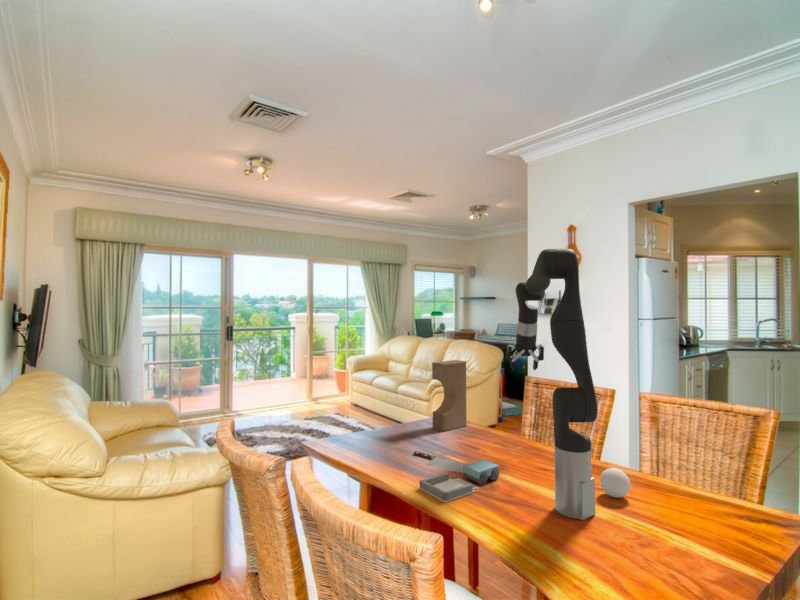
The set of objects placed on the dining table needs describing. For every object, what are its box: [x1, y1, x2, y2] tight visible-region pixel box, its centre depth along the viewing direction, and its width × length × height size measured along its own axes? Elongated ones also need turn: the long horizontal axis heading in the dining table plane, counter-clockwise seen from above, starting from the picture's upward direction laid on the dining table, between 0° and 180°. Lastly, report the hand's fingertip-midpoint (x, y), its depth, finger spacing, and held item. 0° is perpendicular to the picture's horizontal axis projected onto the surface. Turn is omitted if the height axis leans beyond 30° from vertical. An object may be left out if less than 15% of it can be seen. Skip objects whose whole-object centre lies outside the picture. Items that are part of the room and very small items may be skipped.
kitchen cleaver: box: [413, 450, 467, 474], centre depth 152 cm, size 24×1×10 cm
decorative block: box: [431, 359, 467, 433], centre depth 197 cm, size 15×8×30 cm, turn 128°
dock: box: [419, 472, 480, 503], centre depth 130 cm, size 12×15×2 cm
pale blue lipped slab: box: [462, 458, 500, 486], centre depth 138 cm, size 7×10×4 cm
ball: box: [599, 467, 631, 499], centre depth 125 cm, size 8×8×8 cm
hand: (523, 369), depth 172 cm, fingers open, 8 cm apart
